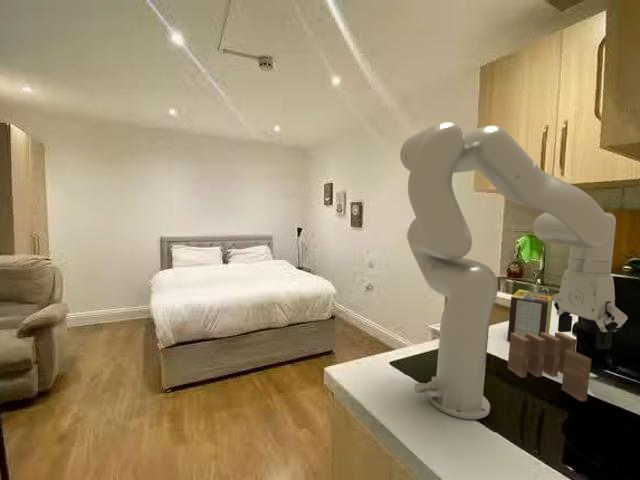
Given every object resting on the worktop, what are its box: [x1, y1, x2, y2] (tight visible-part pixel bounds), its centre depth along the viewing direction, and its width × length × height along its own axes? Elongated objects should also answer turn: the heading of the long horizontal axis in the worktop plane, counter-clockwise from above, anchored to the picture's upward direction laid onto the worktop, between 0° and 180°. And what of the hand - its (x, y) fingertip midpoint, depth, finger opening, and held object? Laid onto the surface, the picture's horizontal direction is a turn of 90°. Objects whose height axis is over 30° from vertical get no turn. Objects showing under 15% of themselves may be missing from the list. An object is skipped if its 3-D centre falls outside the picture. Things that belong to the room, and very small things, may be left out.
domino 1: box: [506, 333, 530, 379], centre depth 87 cm, size 2×5×10 cm, turn 8°
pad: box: [589, 372, 598, 378], centre depth 90 cm, size 6×7×1 cm
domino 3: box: [540, 333, 561, 378], centre depth 88 cm, size 2×5×10 cm, turn 8°
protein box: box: [506, 288, 554, 343], centre depth 112 cm, size 10×15×16 cm
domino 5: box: [560, 350, 592, 402], centre depth 77 cm, size 2×5×10 cm, turn 8°
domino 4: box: [554, 331, 577, 375], centre depth 89 cm, size 2×5×10 cm, turn 8°
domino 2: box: [525, 333, 546, 378], centre depth 88 cm, size 2×5×10 cm, turn 8°
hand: (582, 339), depth 76 cm, fingers open, 9 cm apart
